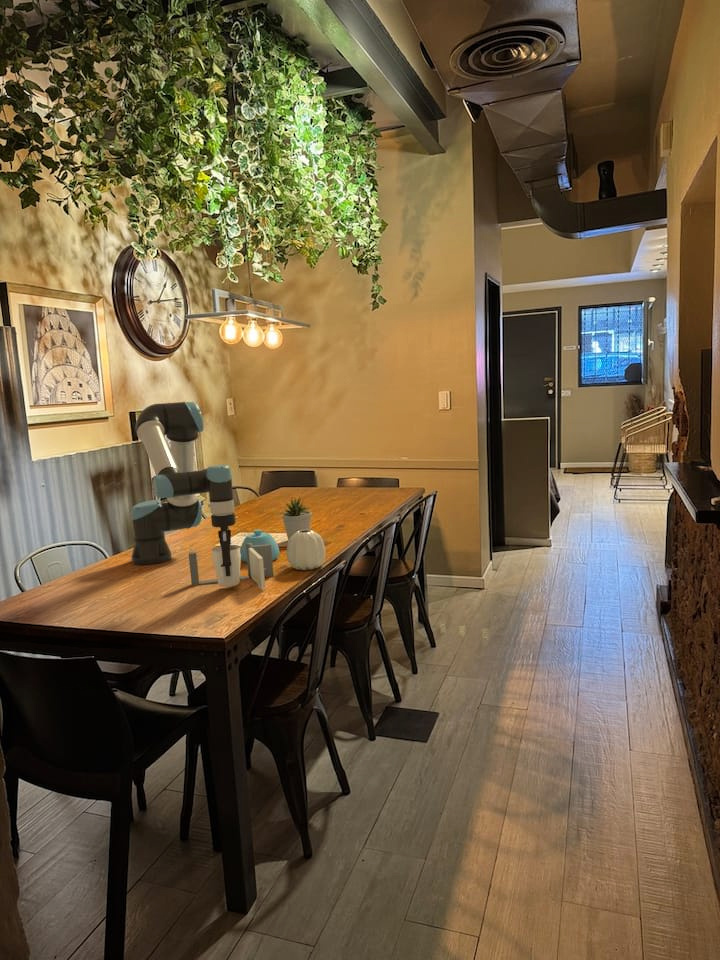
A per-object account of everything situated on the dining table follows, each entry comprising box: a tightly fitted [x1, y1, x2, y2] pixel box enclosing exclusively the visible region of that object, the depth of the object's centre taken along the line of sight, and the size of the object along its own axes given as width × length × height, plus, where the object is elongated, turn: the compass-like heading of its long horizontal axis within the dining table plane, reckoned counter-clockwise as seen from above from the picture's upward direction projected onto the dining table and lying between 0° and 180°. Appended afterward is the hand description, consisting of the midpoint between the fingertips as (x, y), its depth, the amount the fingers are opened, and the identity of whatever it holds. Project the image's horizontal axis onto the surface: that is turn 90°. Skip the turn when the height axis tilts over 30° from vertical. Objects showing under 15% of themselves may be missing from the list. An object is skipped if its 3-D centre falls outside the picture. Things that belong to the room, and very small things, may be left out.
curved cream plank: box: [248, 548, 266, 590], centre depth 213 cm, size 16×2×10 cm, turn 22°
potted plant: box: [279, 495, 312, 541], centre depth 273 cm, size 13×14×20 cm
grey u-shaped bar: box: [188, 543, 275, 586], centre depth 221 cm, size 3×28×12 cm, turn 101°
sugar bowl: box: [240, 529, 280, 564], centre depth 246 cm, size 15×15×12 cm
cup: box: [211, 544, 242, 588], centre depth 209 cm, size 9×9×12 cm
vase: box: [286, 529, 327, 571], centre depth 230 cm, size 14×14×13 cm
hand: (229, 581), depth 210 cm, fingers closed on cup, 8 cm apart
